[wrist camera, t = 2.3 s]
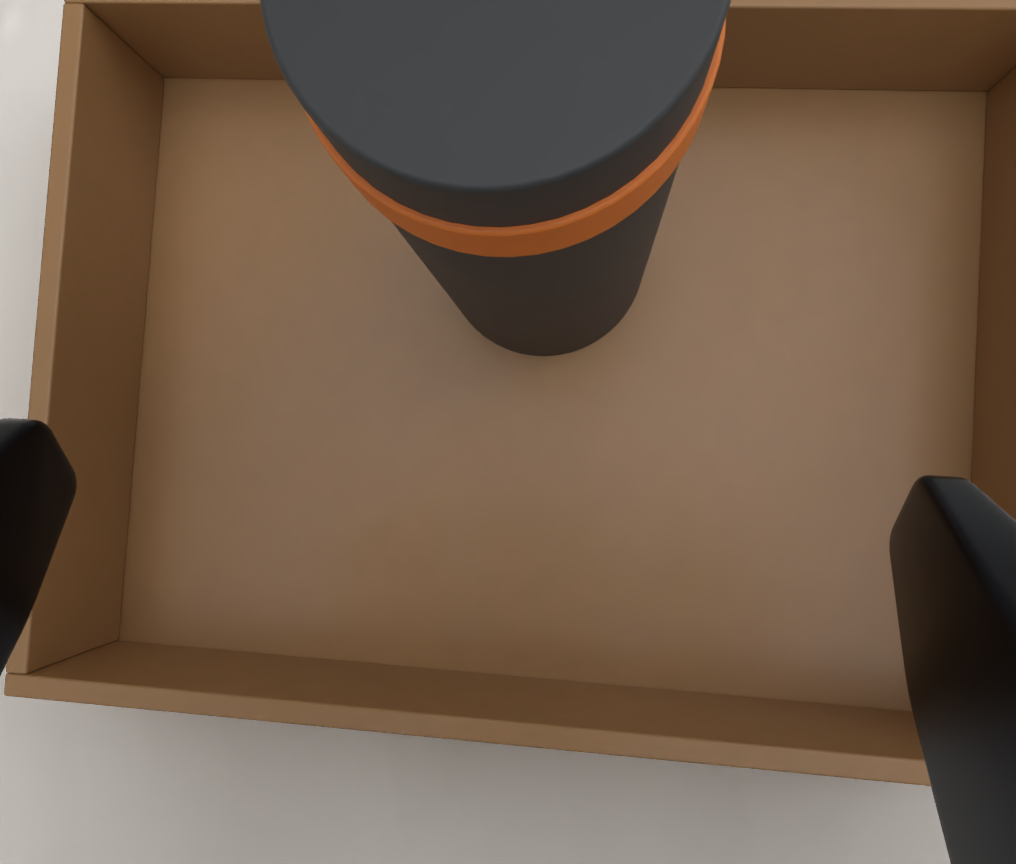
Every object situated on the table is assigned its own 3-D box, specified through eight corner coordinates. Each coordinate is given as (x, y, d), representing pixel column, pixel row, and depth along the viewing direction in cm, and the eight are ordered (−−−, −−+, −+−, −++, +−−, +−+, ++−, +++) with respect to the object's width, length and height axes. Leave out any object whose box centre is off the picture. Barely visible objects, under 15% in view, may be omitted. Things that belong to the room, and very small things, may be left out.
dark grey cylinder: (584, 397, 20) (587, 292, 8) (407, 299, 20) (159, 61, 8) (686, 216, 20) (846, -167, 8) (506, 123, 20) (399, -369, 8)
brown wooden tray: (975, 734, 19) (1074, 800, 15) (106, 654, 21) (2, 696, 17) (1001, 78, 19) (1103, -16, 16) (155, 66, 22) (64, -20, 18)
